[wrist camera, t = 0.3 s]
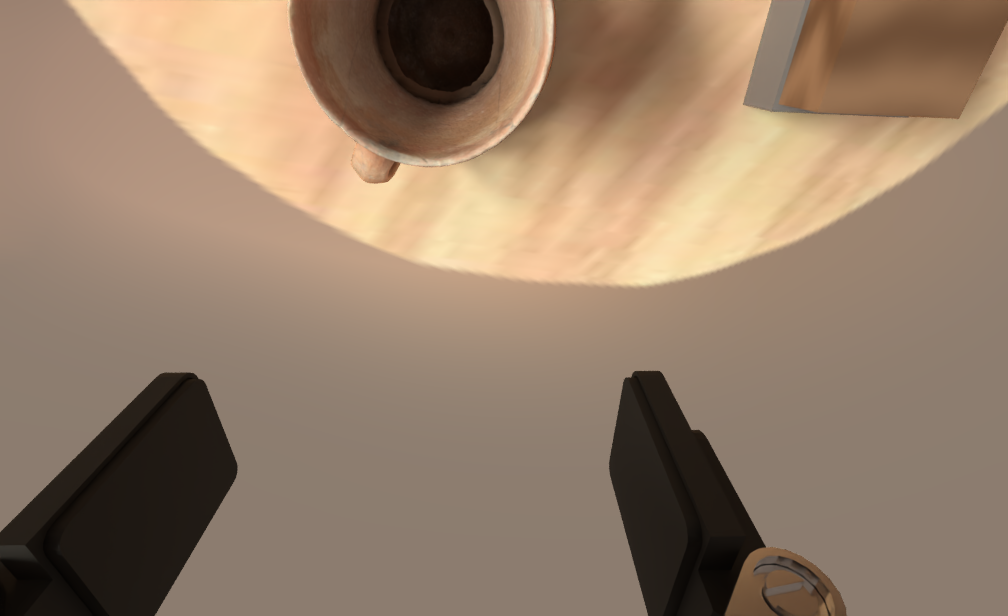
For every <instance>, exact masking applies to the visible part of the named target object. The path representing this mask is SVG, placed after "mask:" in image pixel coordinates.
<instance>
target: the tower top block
mask: <svg viewBox="0 0 1008 616" xmlns="http://www.w3.org/2000/svg"><path fill="white" fill-rule="evenodd" d="M1007 21H1008V0H811V1H810V4H809V7H808V10H807V13H806V17H805V20H804V23H803V26H802V30H801V33H800V36H799V39H798V42H797V46H796V49H795V52H794V55H793V59H792V62H791V65H790V68H789V71H788V75H787V78H786V81H785V84H784V88H783V91H782V94H781V97H780V100H779V104H780V105H785V106H790V107H794V108H799V109H804V110H808V111H813V112H818V113H840V114H863V115H886V116H909V117H932V118H955V119H959V117H960V115H961V113H962V111H963V109H964V107H965V105H966V103H967V101H968V99H969V97H970V95H971V93H972V91H973V89H974V87H975V85H976V83H977V81H978V79H979V77H980V75H981V73H982V71H983V69H984V67H985V65H986V63H987V61H988V59H989V57H990V55H991V53H992V51H993V49H994V47H995V45H996V43H997V41H998V39H999V37H1000V35H1001V33H1002V31H1003V29H1004V27H1005V25H1006V23H1007Z"/></svg>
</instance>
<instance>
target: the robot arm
mask: <svg viewBox="0 0 1008 616" xmlns="http://www.w3.org/2000/svg"><path fill="white" fill-rule="evenodd" d="M609 469H610V476H611V480H612V484H613V488H614V491H615V495H616V499H617V502H618V506H619V510H620V513H621V517H622V520H623V524H624V528H625V532H626V535H627V539H628V543H629V546H630V550H631V554H632V557H633V561H634V565H635V568H636V572H637V576H638V580H639V583H640V587H641V591H642V594H643V598H644V601H645V605H646V609H647V613H648V616H847V615H846V607H845V604H844V602H843V599H842V597H841V594H840V592H839V591H838V590H837V588H836V587H835V585H834V584H833V583H832V581H831V580H830V578H828V577H827V576H826V575H825V574H824V573H823V572H822V571H821V570H820V569H819V568H818V567H817V566H816V565H814V564H813V563H811V562H810V561H808V560H807V559H805V558H804V557H802V556H800V555H798V554H795V553H793V552H791V551H788V550H786V549H780V548H775V547H767V548H766V546H765V545H764V543H763V541H762V539H761V537H760V535H759V534H758V532H757V530H756V528H755V526H754V524H753V522H752V521H751V519H750V517H749V515H748V513H747V511H746V510H745V508H744V506H743V504H742V502H741V500H740V499H739V497H738V495H737V493H736V491H735V489H734V487H733V486H732V484H731V482H730V480H729V478H728V476H727V475H726V473H725V471H724V469H723V467H722V465H721V463H720V462H719V460H718V458H717V456H716V454H715V452H714V450H713V449H712V447H711V445H710V443H709V441H708V439H707V438H706V436H705V435H704V434H703V433H702V432H701V431H700V430H691V428H690V426H689V424H688V422H687V420H686V419H685V417H684V415H683V413H682V411H681V409H680V407H679V405H678V403H677V401H676V399H675V397H674V396H673V394H672V392H671V389H670V387H669V385H668V384H667V381H666V380H665V378H664V376H663V374H662V373H661V372H660V371H635V372H634V373H633V374H632V377H631V378H625V380H624V382H623V389H622V393H621V399H620V405H619V411H618V416H617V421H616V427H615V433H614V439H613V444H612V449H611V456H610V462H609ZM236 475H237V462H236V460H235V457H234V455H233V452H232V450H231V447H230V444H229V442H228V439H227V437H226V434H225V432H224V429H223V427H222V424H221V422H220V419H219V417H218V414H217V411H216V409H215V407H214V404H213V401H212V399H211V396H210V394H209V392H208V389H207V386H206V384H205V382H204V381H203V380H201V379H198V377H197V376H196V375H195V374H194V373H162V374H160V375H159V376H158V377H156V378H155V379H154V380H153V381H152V382H151V383H150V384H149V385H148V386H147V387H146V388H145V389H144V390H143V391H142V392H141V393H140V394H139V395H138V396H137V397H136V398H135V399H134V400H133V401H132V402H131V403H130V404H129V405H128V406H127V407H126V408H125V409H124V410H123V411H122V412H121V413H120V414H119V415H118V416H117V417H116V418H115V419H114V420H113V421H112V422H111V423H110V424H109V425H108V426H107V427H106V428H105V429H104V430H103V431H102V432H101V433H100V434H99V435H98V436H97V437H96V438H95V439H94V440H93V441H92V442H91V443H90V444H89V445H88V446H87V447H86V448H85V449H84V450H83V451H82V452H81V453H80V454H79V455H78V456H77V457H76V458H75V459H73V460H72V462H70V464H69V465H67V466H66V467H65V468H64V469H63V471H61V472H60V474H58V476H56V477H55V478H54V479H53V480H52V481H51V482H50V483H49V485H47V486H46V487H45V488H44V489H43V490H42V491H41V492H40V493H39V494H38V495H37V496H36V497H35V498H34V499H33V500H32V501H31V502H30V503H29V504H28V505H27V506H26V507H25V508H24V509H23V510H22V511H21V512H20V513H19V514H18V515H17V516H16V517H15V518H14V519H13V520H12V521H11V522H10V523H9V524H8V525H7V526H6V527H5V528H4V529H3V530H2V531H1V532H0V616H155V614H156V613H157V611H158V609H159V608H160V606H161V604H162V602H163V600H164V599H165V597H166V596H167V594H168V592H169V591H170V589H171V587H172V585H173V584H174V582H175V580H176V579H177V577H178V575H179V574H180V572H181V570H182V569H183V567H184V565H185V563H186V561H187V560H188V558H189V557H190V555H191V553H192V551H193V550H194V548H195V547H196V545H197V543H198V541H199V540H200V538H201V536H202V535H203V533H204V531H205V530H206V528H207V526H208V524H209V523H210V521H211V519H212V518H213V516H214V514H215V513H216V511H217V509H218V508H219V506H220V504H221V503H222V501H223V499H224V497H225V496H226V494H227V492H228V491H229V489H230V487H231V486H232V484H233V482H234V480H235V478H236Z"/></svg>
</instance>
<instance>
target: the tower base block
mask: <svg viewBox="0 0 1008 616" xmlns="http://www.w3.org/2000/svg"><path fill="white" fill-rule="evenodd" d="M810 1H811V0H772V1H771V5H770V9H769V12H768V16H767V19H766V23H765V27H764V30H763V34H762V38H761V41H760V45H759V48H758V52H757V56H756V59H755V63H754V66H753V70H752V74H751V77H750V81H749V85H748V88H747V92H746V95H745V99H744V103H743V105H747V106H751V107H755V108H759V109H764V110H768V111H774V112H796V113H818V112H813V111H808V110H804V109H799V108H794V107H790V106H785V105H780V104H779V100H780V97H781V94H782V91H783V88H784V84H785V81H786V78H787V75H788V71H789V68H790V65H791V62H792V59H793V55H794V52H795V49H796V46H797V42H798V39H799V36H800V33H801V30H802V26H803V23H804V20H805V17H806V13H807V10H808V7H809V4H810ZM818 114H840V113H818ZM841 115H863V114H841ZM863 116H886V115H863ZM886 117H909V116H886Z"/></svg>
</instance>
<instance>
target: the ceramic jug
mask: <svg viewBox="0 0 1008 616" xmlns="http://www.w3.org/2000/svg"><path fill="white" fill-rule="evenodd" d="M287 12H288V26H289V31H290V35H291V42H292V46H293V50H294V54H295V57H296V60H297V63H298V66H299V68H300V71H301V74H302V76H303V78H304V80H305V82H306V84H307V87H308V88H309V90H310V92H311V94H312V95H313V97H314V99H315V100H316V102H317V103H318V105H319V106H320V107H321V109H322V110H323V111H324V112H325V113H326V115H327V116H328V117H329V118H330V119H331V120H332V121H333V122H334V123H335V124H336V125H337V126H339V127H340V128H342V129H343V130H344V132H345V133H346V134H347V135H348V136H349V137H350V138H352V139H353V140H354V141H355V142H357V143H356V146H355V149H354V153H353V156H352V160H351V165H352V167H353V168H354V170H355V171H356V173H357V174H358V175H359V176H360V178H361V179H362V180H364V181H365V182H367V183H385V182H388V181H389V180H390V179H391V178H392V177H393V176H394V174H395V172H396V171H397V169H398V167H399V165H400V163H403V164H407V165H413V166H420V167H442V166H448V165H453V164H458V163H461V162H465V161H468V160H471V159H473V158H475V157H477V156H479V155H481V154H483V153H485V152H486V151H488V150H490V149H491V148H493V147H495V146H496V145H498V144H499V143H500V142H501V141H503V140H504V139H505V138H506V137H507V136H508V135H509V134H511V133H512V132H513V131H514V130H515V128H516V127H517V126H518V125H519V124H520V123H521V122H522V121H523V119H524V118H525V117H526V115H527V114H528V113H529V111H530V110H531V108H532V106H533V105H534V103H535V101H536V99H537V98H538V96H539V94H540V92H541V91H542V88H543V86H544V84H545V82H546V80H547V77H548V74H549V71H550V68H551V64H552V59H553V54H554V48H555V39H556V16H555V8H554V2H553V0H288V5H287Z"/></svg>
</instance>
